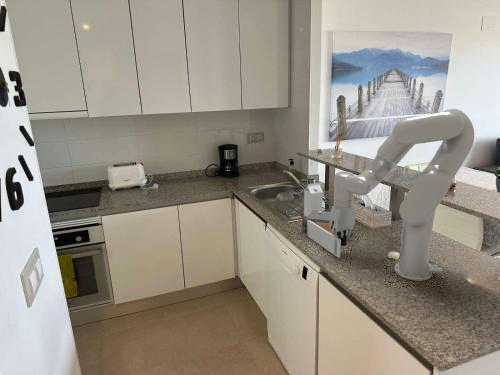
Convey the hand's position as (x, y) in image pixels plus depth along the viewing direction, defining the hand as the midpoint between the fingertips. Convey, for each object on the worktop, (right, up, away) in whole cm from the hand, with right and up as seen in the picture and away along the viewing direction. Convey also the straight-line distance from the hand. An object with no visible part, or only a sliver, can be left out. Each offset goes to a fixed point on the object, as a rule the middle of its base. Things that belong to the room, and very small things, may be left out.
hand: (341, 244), depth 142 cm
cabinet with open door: (-1, +2, +23) cm, 23 cm away
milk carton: (-4, +7, +43) cm, 44 cm away
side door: (-6, -2, +9) cm, 11 cm away
